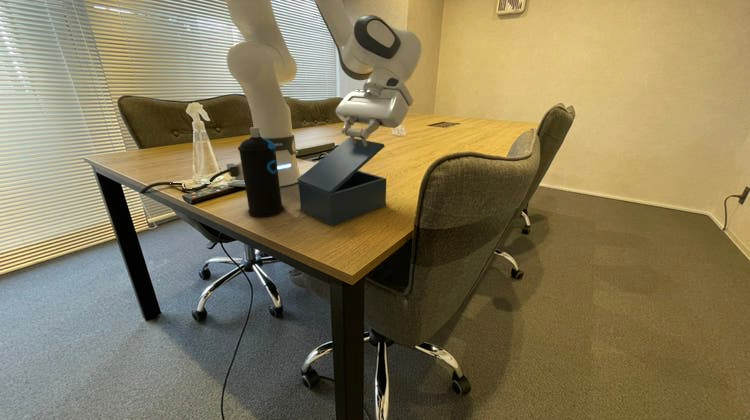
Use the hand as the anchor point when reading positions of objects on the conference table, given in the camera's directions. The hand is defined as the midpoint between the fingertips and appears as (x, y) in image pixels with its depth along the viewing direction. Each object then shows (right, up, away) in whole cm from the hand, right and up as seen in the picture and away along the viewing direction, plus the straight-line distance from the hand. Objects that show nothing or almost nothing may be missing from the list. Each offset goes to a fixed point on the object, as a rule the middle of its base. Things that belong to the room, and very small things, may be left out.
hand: (353, 135), depth 72 cm
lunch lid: (-3, -7, 0) cm, 7 cm away
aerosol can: (-22, -18, +3) cm, 28 cm away
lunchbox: (-3, -17, +5) cm, 18 cm away
